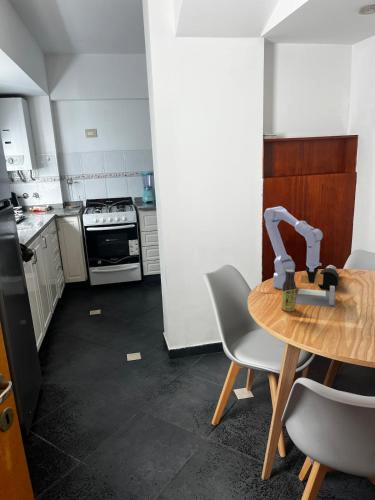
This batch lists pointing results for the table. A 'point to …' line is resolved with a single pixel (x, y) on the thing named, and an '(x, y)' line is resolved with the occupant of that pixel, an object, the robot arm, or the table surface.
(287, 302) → the sauce bottle
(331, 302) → the clasp
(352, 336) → the table surface
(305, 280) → the block
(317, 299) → the board
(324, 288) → the black and grey cylinder
